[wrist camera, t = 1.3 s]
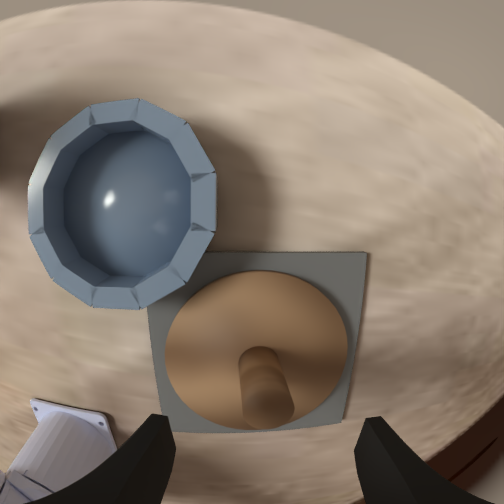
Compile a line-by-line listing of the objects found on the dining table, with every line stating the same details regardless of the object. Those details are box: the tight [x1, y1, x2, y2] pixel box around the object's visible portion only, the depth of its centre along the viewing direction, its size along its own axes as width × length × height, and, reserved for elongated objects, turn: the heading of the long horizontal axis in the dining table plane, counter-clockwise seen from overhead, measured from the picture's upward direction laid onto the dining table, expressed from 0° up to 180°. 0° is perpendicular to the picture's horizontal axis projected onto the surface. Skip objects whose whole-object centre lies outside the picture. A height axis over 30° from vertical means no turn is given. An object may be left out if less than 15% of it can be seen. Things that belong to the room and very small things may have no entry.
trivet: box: [147, 252, 367, 433], centre depth 19 cm, size 14×14×1 cm
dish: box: [28, 98, 218, 310], centre depth 16 cm, size 11×11×4 cm
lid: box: [165, 270, 348, 430], centre depth 16 cm, size 12×12×6 cm
